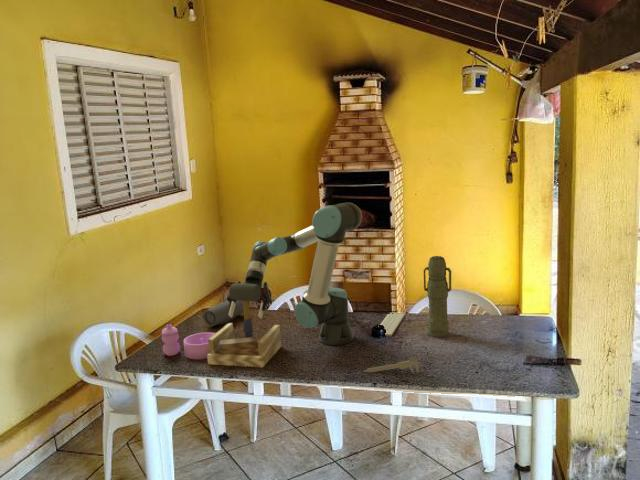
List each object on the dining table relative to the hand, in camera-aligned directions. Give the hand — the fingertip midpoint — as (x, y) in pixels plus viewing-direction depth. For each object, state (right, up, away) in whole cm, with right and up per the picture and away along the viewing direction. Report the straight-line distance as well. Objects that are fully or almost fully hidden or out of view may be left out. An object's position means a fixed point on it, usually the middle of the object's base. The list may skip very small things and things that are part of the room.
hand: (244, 316), depth 235 cm
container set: (-24, -17, +6) cm, 30 cm away
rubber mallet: (+2, -15, +5) cm, 16 cm away
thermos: (+84, -9, +11) cm, 86 cm away
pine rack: (+1, -16, +1) cm, 16 cm away
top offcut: (-1, -12, -6) cm, 13 cm away
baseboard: (+64, -8, +28) cm, 70 cm away
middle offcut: (-1, -15, -5) cm, 16 cm away
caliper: (+59, -18, -25) cm, 66 cm away
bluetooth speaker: (-16, -9, +46) cm, 50 cm away
